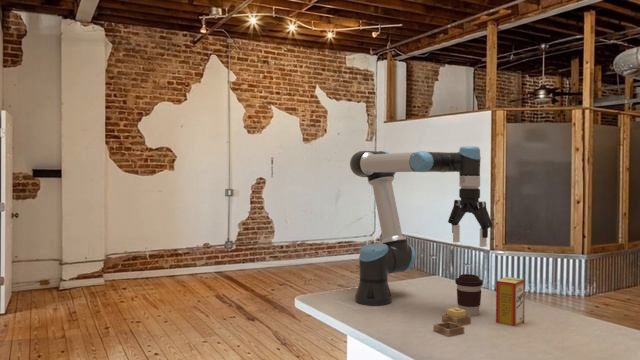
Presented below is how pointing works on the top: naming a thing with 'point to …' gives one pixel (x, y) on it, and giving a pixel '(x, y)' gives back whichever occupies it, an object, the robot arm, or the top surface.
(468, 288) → the coffee cup
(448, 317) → the box
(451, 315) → the letter cube
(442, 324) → the box
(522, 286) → the baking soda box
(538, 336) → the top surface
